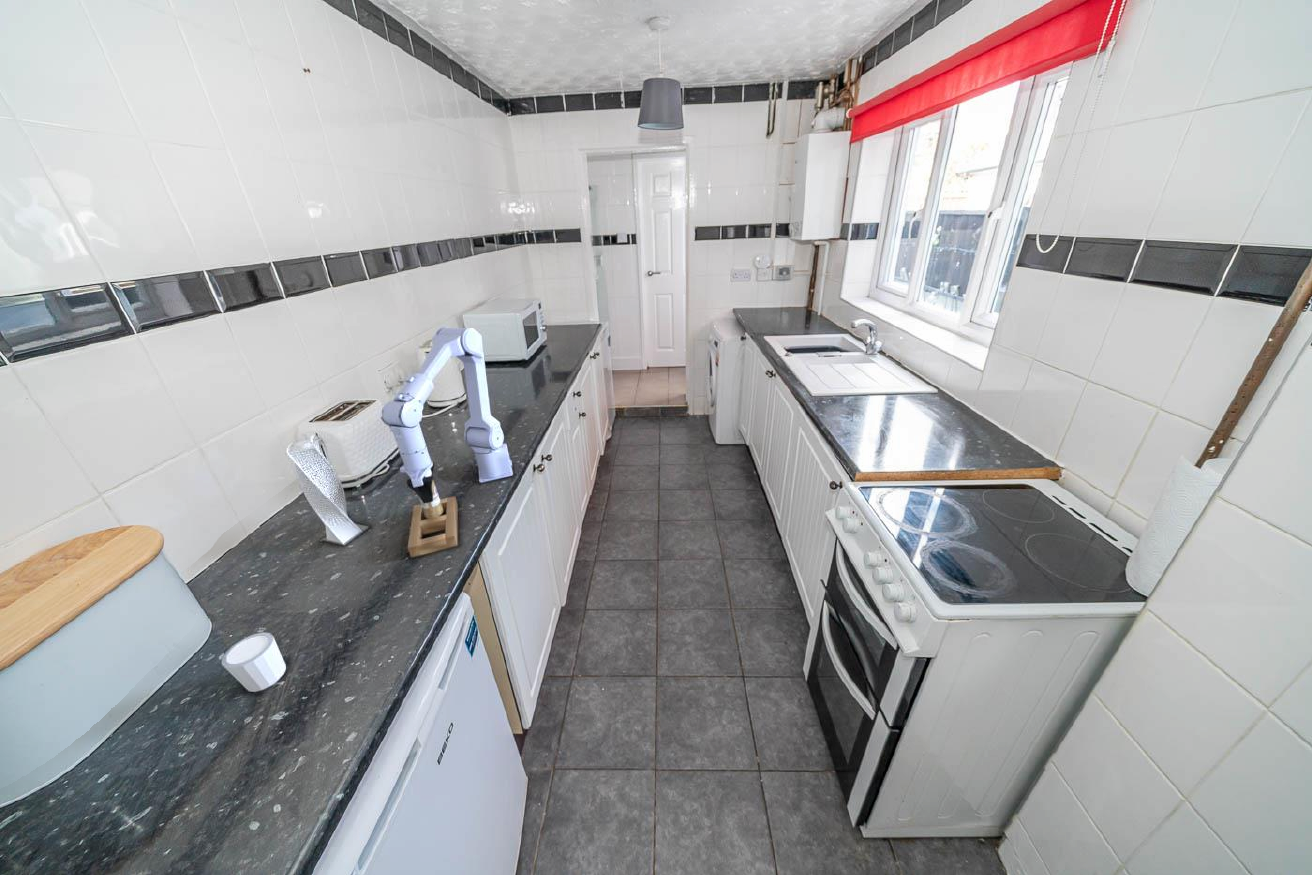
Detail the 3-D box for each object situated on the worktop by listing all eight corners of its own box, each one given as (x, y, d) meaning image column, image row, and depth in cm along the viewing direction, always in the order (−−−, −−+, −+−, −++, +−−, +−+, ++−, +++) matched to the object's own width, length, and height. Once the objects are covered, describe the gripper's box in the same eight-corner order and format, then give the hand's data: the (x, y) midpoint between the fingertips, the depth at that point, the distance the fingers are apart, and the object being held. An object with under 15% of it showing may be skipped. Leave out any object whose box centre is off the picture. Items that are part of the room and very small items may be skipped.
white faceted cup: (259, 660, 81) (241, 633, 78) (299, 656, 81) (282, 629, 78) (230, 697, 75) (209, 670, 72) (273, 693, 75) (254, 665, 72)
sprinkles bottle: (445, 515, 115) (431, 469, 109) (426, 522, 113) (410, 476, 106) (442, 506, 118) (427, 462, 112) (423, 513, 116) (407, 468, 110)
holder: (457, 505, 122) (454, 496, 121) (457, 545, 107) (454, 535, 106) (417, 514, 119) (414, 505, 118) (411, 557, 104) (407, 547, 103)
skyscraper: (373, 528, 115) (331, 429, 102) (344, 549, 108) (295, 446, 95) (348, 523, 117) (305, 425, 104) (319, 543, 110) (268, 441, 98)
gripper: (397, 439, 112) (414, 486, 118) (390, 466, 100) (408, 516, 106) (428, 433, 114) (443, 479, 120) (425, 459, 102) (441, 509, 108)
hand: (429, 496), depth 113 cm, fingers closed on sprinkles bottle, 4 cm apart
